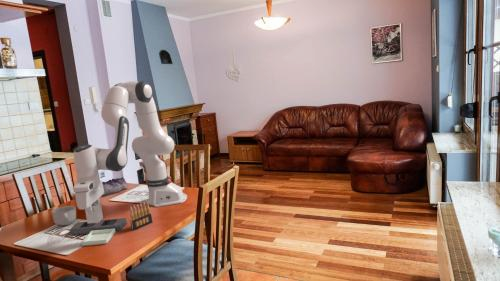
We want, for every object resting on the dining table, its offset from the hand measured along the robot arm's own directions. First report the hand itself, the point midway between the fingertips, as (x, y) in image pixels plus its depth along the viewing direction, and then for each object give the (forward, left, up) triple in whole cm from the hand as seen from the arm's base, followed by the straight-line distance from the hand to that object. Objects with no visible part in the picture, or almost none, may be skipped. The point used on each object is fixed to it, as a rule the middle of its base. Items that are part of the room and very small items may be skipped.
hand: (93, 211), depth 152 cm
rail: (+4, -11, -14) cm, 18 cm away
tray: (0, 0, -14) cm, 14 cm away
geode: (+18, -69, -14) cm, 72 cm away
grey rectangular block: (0, 0, -5) cm, 5 cm away
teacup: (+25, -21, -14) cm, 36 cm away
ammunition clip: (-17, -10, -14) cm, 24 cm away
